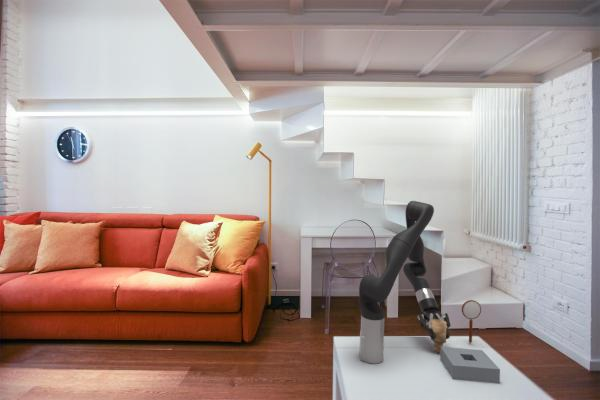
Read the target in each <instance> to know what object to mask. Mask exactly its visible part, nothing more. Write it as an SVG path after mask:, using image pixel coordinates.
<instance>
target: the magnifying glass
mask: <svg viewBox="0 0 600 400" xmlns="http://www.w3.org/2000/svg"><path fill="white" fill-rule="evenodd" d="M461 312H462V315H463V316H464V318H466V319H468V320H469V325H468V326H469V327H468V328H469V329H468V342H469V344H470V345H471V344H472V342H473V322H474V321H473V320H475V319H477V318H478V317H479V316H480V315H481V313H482V307H481V305H480V303H479V302H478V301H477V300H473V299H470V300H469V299H468V300H466V301H465V302H464V303H463V304H462V306H461Z"/></svg>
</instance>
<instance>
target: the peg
mask: <svg viewBox="0 0 600 400" xmlns="http://www.w3.org/2000/svg"><path fill="white" fill-rule="evenodd" d="M431 329H433V332H434V334H435V337H436V338H435V339H433V340H432V338H430V340H431V341H432V342H433V347H434V352H435V353H436V352H437V353H436V354H440V349H441V347H444V344H445V343H447V339H446V322H445V321H444V319H442V320H440V319H433V320H432V328H431Z"/></svg>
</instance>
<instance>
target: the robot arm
mask: <svg viewBox="0 0 600 400" xmlns="http://www.w3.org/2000/svg"><path fill="white" fill-rule="evenodd" d="M434 213H435V208H434V206H433V204H431V203H426V202H421V201H416V200H411V201H409V202H408V203H407V205H406V207H405V223H406V229H404V230H402V231H400V232H398V233H397V234H395V235H394V236H393V237H392V238H391V240H390V242H389V243H388V245H387V247H386V250H385V263H386V266H385V269H384V270H383V273H382V275H380V277H378V276H375V275H371V274H365V275H364V276H363V277H362V278H361V280H360V281H359V286H358V289H359V290H358V292H359V293H358V295H359V296H358V297H359V299H358V300H359V309H360V312H361V313H360V331H359V359H360V361H361V362H365V363H368V364H372V365H373V364H381V363H383V361H384V345H385V344H384V342H385V341H384V340H385V310H384V308H383V307H382V306H381V305H380V304H379V303H383V302H384V301H386V300H387V299H388V297H389V296H390V294H391V292H392V290H393V287H394V284H395V283H396V282H395V281H396V280H397V278H398V275H399V274H400V272H401V270H403V271H402V272H403V274H404V276H405V278H407V280H408V281H409V283H410V284H411V285H412V288H413V290H414V293H415V296H416V300H417V302H418V306H419V308H420V311H421V313H422V314H421V313H419V314H418V315H417V316H416V318H417V321H418V323H419V325H420V326H421V328H422V330H426V331H427V333H428V335H429V338H430V339H431V338H432V340H433V339H435V338H436V337H435V334H434V332H433V329H431V328H432V320H433V319H440V320H443V321H445V322H446V340H449V339H450V337H451V334H450V332H449V329H450V327H451V326H452V325H451V321H450V318H449V315H448V313H442V312H441V311H440V309H439V305H438V303H437V301H436V298H435V296H434V293H433V292H432V289H431V287H430V284H429V282H428V280H427V279H426V278H423V277H424V276H425V275H426V273H427V268H426V265H425V260H424V253H425V246H424V241H423V238H422V236H421V234H423V232H424V230H425V229H426V228H427V227H428V225H429V223H430V222H431V221H432V218H433V216H434ZM407 259H408V260H409V261H411V262H406V261H407ZM405 262H406V263H405ZM421 277H422V278H421ZM425 320H426V321H425ZM432 340H431V341H432Z"/></svg>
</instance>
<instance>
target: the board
mask: <svg viewBox="0 0 600 400" xmlns="http://www.w3.org/2000/svg"><path fill="white" fill-rule="evenodd" d="M439 354H440V355H439V357H440V358H439V359H440V361H441V362H442V365H443V366H444V367H445V369H446V370H447V372H448V374H449V376H450V377H451V379H453V380H461V381H471V382H472V381H473V382H483V383H484V382H485V383H495V384H500V381H501V380H500V379H501V369H500V368H499V367H498V366H497V364H496V363H495V362H494V361H493V360H492V359H491V358H490V356H488V354H486V353H485V351H484V350H482V349H474V348H473V349H472V348H460V347H459V348H458V347H447V346H443V347H441V349H440V353H439Z"/></svg>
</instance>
